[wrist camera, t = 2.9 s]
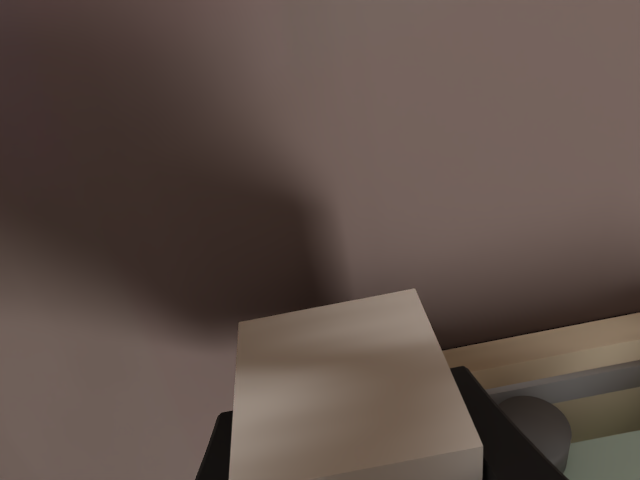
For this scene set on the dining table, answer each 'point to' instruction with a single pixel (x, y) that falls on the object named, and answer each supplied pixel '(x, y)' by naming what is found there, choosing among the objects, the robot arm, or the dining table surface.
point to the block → (349, 397)
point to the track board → (567, 372)
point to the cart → (574, 458)
